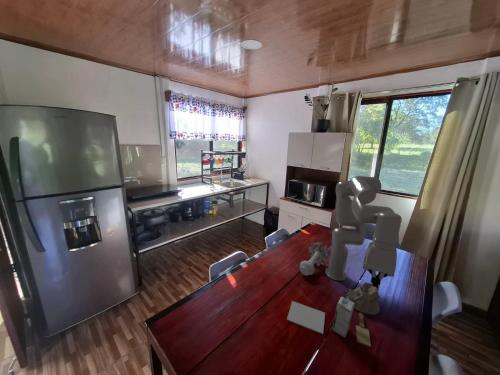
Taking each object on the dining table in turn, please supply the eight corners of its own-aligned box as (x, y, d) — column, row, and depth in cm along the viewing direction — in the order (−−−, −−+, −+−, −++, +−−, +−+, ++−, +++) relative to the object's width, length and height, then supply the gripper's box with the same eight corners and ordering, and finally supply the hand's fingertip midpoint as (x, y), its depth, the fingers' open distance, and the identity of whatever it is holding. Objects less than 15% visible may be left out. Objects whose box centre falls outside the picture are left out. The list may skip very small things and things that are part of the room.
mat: (292, 302, 105) (292, 301, 105) (324, 313, 99) (325, 312, 99) (286, 320, 94) (286, 319, 94) (322, 334, 88) (323, 333, 88)
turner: (354, 313, 100) (355, 311, 100) (366, 317, 98) (366, 315, 98) (357, 342, 86) (357, 339, 85) (370, 347, 84) (371, 345, 84)
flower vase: (310, 287, 126) (327, 262, 142) (316, 268, 116) (333, 243, 132) (292, 274, 133) (310, 252, 149) (296, 255, 123) (315, 234, 139)
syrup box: (335, 321, 95) (340, 295, 91) (349, 329, 91) (354, 302, 88) (331, 330, 90) (336, 302, 87) (345, 338, 87) (351, 310, 83)
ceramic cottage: (379, 297, 111) (382, 274, 107) (380, 320, 97) (384, 294, 94) (347, 287, 119) (350, 265, 115) (344, 308, 105) (347, 283, 101)
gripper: (404, 244, 78) (394, 285, 82) (361, 235, 84) (353, 274, 88) (410, 253, 72) (399, 297, 76) (362, 242, 78) (354, 284, 82)
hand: (374, 285), depth 82 cm, fingers closed
